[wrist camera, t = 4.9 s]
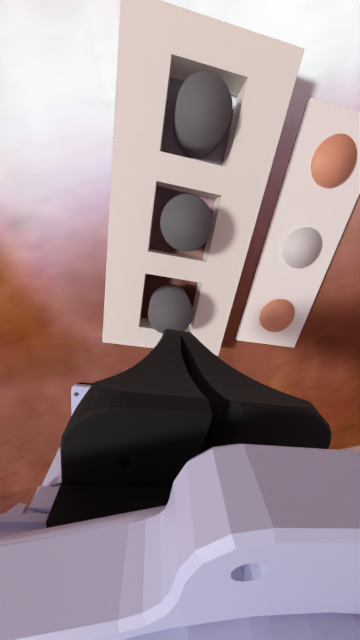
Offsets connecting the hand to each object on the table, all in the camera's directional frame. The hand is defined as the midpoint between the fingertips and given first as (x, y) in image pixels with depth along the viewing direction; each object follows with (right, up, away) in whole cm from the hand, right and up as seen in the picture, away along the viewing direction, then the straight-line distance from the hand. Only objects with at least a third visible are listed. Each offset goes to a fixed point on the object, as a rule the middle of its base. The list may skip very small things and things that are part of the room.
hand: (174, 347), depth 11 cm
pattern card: (+10, +7, +7) cm, 15 cm away
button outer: (+1, +14, +3) cm, 15 cm away
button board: (0, +9, +6) cm, 11 cm away
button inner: (-1, +3, +7) cm, 7 cm away
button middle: (+1, +8, +4) cm, 9 cm away
